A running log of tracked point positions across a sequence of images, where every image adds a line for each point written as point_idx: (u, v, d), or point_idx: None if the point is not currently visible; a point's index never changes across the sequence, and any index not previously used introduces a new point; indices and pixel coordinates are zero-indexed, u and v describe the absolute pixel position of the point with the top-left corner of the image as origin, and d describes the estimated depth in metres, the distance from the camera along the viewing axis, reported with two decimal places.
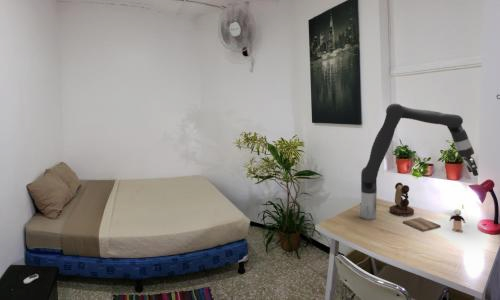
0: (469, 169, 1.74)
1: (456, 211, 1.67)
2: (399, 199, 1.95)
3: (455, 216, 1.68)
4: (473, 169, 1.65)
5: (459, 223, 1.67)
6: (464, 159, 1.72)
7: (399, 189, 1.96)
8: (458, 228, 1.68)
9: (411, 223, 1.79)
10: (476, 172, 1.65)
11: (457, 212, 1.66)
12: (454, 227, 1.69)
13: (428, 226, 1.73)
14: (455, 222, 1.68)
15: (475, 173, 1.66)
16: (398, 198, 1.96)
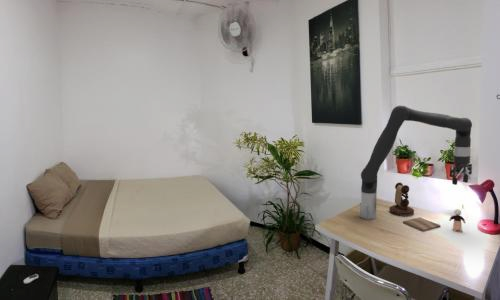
0: (464, 179, 1.66)
1: (456, 211, 1.67)
2: (399, 199, 1.95)
3: (455, 216, 1.68)
4: (450, 176, 1.62)
5: (459, 223, 1.67)
6: None
7: (399, 189, 1.96)
8: (458, 228, 1.68)
9: (411, 223, 1.79)
10: (454, 181, 1.62)
11: (457, 212, 1.66)
12: (454, 227, 1.69)
13: (428, 226, 1.73)
14: (455, 222, 1.68)
15: None
16: (398, 198, 1.96)
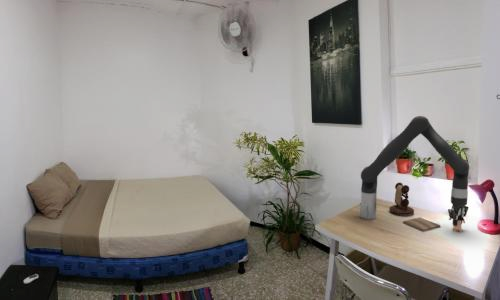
0: None
1: None
2: (399, 199, 1.95)
3: (455, 215, 1.68)
4: None
5: (459, 223, 1.67)
6: None
7: (399, 189, 1.96)
8: (457, 228, 1.68)
9: (411, 223, 1.79)
10: (454, 222, 1.67)
11: None
12: (454, 226, 1.69)
13: (428, 226, 1.73)
14: None
15: None
16: (398, 198, 1.96)
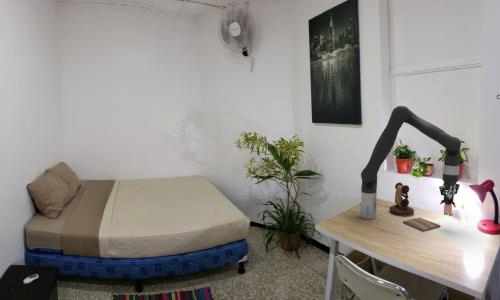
0: None
1: None
2: (399, 199, 1.95)
3: None
4: None
5: (449, 207, 1.68)
6: None
7: (399, 189, 1.96)
8: (448, 212, 1.69)
9: (411, 223, 1.79)
10: (445, 199, 1.67)
11: None
12: (444, 211, 1.70)
13: (428, 226, 1.73)
14: (445, 206, 1.70)
15: None
16: (398, 198, 1.96)
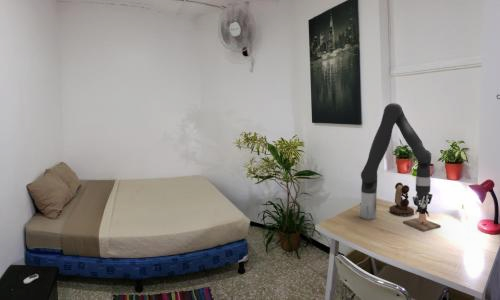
0: None
1: None
2: (399, 199, 1.95)
3: None
4: None
5: (423, 216, 1.76)
6: None
7: (399, 189, 1.96)
8: (422, 221, 1.77)
9: (411, 223, 1.79)
10: (419, 209, 1.75)
11: None
12: (419, 220, 1.78)
13: (428, 226, 1.73)
14: (420, 215, 1.77)
15: None
16: (398, 198, 1.96)
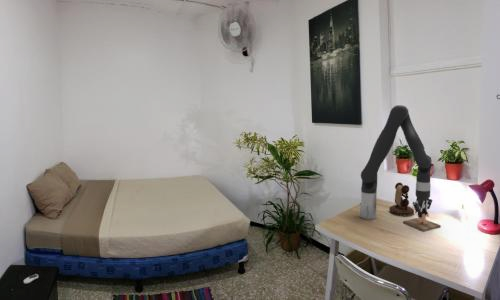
0: None
1: None
2: (399, 199, 1.95)
3: None
4: (416, 210, 1.76)
5: (423, 216, 1.76)
6: None
7: (399, 189, 1.96)
8: (422, 221, 1.77)
9: (411, 223, 1.79)
10: (419, 214, 1.76)
11: None
12: (419, 219, 1.78)
13: (428, 226, 1.73)
14: None
15: None
16: (398, 198, 1.96)
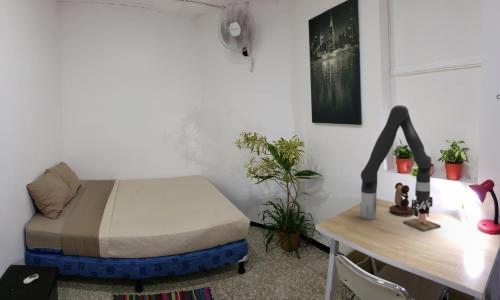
0: None
1: None
2: (399, 199, 1.95)
3: (419, 209, 1.77)
4: None
5: (423, 216, 1.76)
6: None
7: (399, 189, 1.96)
8: (422, 221, 1.77)
9: (411, 223, 1.79)
10: (415, 213, 1.75)
11: None
12: (419, 219, 1.79)
13: (428, 226, 1.73)
14: (419, 215, 1.78)
15: None
16: (398, 198, 1.96)
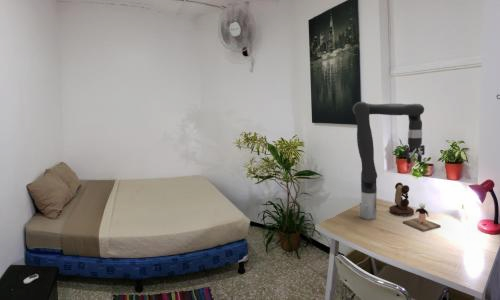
0: (418, 159, 1.85)
1: (420, 204, 1.76)
2: (399, 199, 1.95)
3: (419, 209, 1.77)
4: (405, 156, 1.81)
5: (423, 216, 1.76)
6: None
7: (399, 189, 1.96)
8: (422, 221, 1.77)
9: (411, 223, 1.79)
10: (408, 160, 1.81)
11: (420, 205, 1.76)
12: (419, 219, 1.79)
13: (428, 226, 1.73)
14: (419, 215, 1.78)
15: None
16: (398, 198, 1.96)
